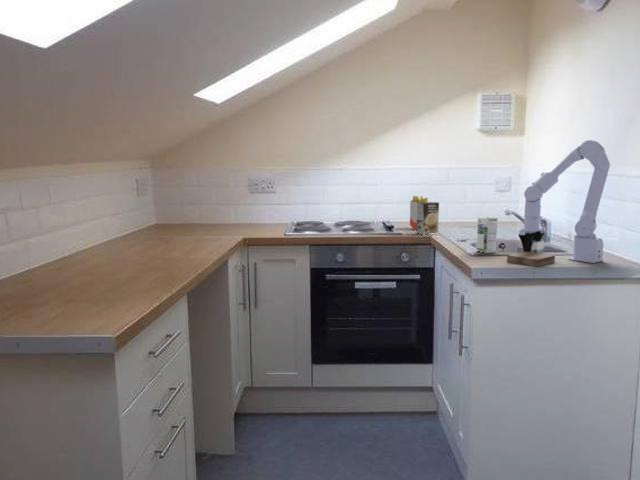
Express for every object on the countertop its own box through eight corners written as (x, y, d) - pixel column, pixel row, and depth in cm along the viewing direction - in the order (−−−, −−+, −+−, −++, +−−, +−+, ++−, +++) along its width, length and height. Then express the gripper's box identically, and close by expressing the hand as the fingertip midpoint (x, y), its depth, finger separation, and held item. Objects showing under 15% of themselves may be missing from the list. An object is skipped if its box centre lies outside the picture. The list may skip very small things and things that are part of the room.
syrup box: (475, 251, 220) (477, 216, 218) (487, 250, 223) (488, 215, 220) (484, 253, 215) (485, 217, 213) (496, 252, 217) (498, 217, 215)
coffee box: (423, 235, 265) (424, 203, 263) (416, 234, 271) (416, 202, 269) (438, 234, 269) (439, 202, 267) (430, 232, 275) (431, 201, 272)
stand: (554, 262, 197) (554, 255, 196) (537, 266, 189) (537, 259, 189) (524, 257, 206) (524, 251, 205) (507, 261, 198) (507, 255, 198)
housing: (543, 256, 209) (544, 240, 208) (536, 257, 206) (537, 242, 205) (524, 253, 215) (524, 238, 214) (517, 254, 212) (518, 239, 211)
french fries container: (415, 228, 292) (415, 195, 289) (431, 230, 284) (432, 196, 281) (409, 229, 289) (410, 195, 286) (425, 231, 281) (426, 197, 278)
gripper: (532, 214, 216) (530, 248, 218) (512, 217, 207) (511, 252, 209) (549, 216, 210) (547, 250, 212) (529, 219, 201) (527, 254, 203)
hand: (530, 251), depth 210 cm, fingers closed on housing, 5 cm apart
